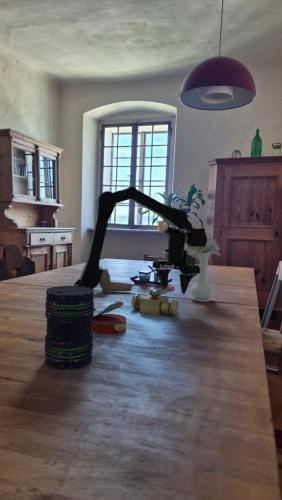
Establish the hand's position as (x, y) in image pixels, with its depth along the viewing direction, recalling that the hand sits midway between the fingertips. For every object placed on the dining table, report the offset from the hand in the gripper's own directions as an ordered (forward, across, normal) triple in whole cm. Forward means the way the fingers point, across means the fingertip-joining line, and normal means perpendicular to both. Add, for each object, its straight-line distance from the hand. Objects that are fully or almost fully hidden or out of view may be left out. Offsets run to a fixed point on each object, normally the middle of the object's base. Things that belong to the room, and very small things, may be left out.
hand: (174, 291), depth 119 cm
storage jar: (+6, -22, +51) cm, 56 cm away
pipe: (+7, +34, +3) cm, 35 cm away
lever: (0, +1, +5) cm, 5 cm away
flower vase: (+6, +6, -20) cm, 22 cm away
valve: (+6, 0, +9) cm, 11 cm away
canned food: (+7, -8, +32) cm, 33 cm away
